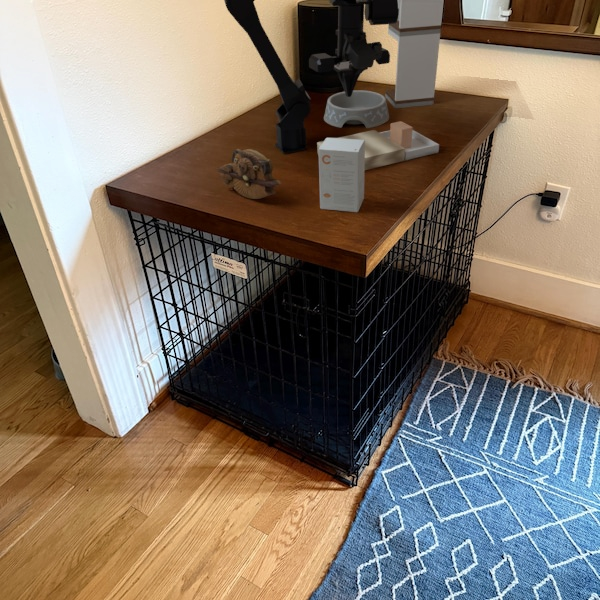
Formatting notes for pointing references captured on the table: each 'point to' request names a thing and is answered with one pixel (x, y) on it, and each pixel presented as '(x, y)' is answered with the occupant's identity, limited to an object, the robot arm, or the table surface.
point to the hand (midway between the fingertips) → (348, 96)
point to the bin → (417, 145)
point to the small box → (341, 174)
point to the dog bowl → (356, 109)
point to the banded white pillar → (416, 52)
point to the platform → (377, 149)
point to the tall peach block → (401, 134)
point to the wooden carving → (249, 174)
